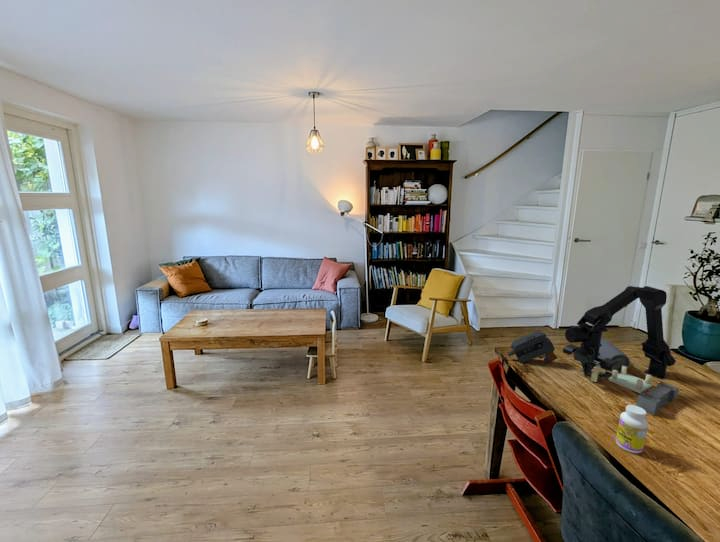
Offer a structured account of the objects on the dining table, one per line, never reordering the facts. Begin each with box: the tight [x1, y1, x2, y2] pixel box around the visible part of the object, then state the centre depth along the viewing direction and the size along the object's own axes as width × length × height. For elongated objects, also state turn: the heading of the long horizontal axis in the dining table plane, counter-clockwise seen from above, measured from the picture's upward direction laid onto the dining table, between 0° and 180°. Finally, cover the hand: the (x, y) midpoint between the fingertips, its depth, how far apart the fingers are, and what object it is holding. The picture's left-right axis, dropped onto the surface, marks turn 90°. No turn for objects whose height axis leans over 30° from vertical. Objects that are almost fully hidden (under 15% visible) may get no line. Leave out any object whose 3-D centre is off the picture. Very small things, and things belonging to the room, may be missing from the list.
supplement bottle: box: [615, 404, 649, 454], centre depth 101 cm, size 7×7×13 cm
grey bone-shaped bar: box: [635, 381, 680, 416], centre depth 123 cm, size 19×5×5 cm, turn 119°
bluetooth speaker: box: [598, 336, 631, 373], centre depth 153 cm, size 23×9×10 cm, turn 172°
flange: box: [580, 368, 613, 381], centre depth 145 cm, size 9×9×1 cm
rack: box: [607, 365, 654, 394], centre depth 136 cm, size 11×11×4 cm
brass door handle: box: [590, 364, 607, 383], centre depth 141 cm, size 14×6×4 cm, turn 138°
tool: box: [507, 330, 558, 364], centre depth 154 cm, size 6×19×15 cm, turn 78°
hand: (586, 375), depth 140 cm, fingers closed
